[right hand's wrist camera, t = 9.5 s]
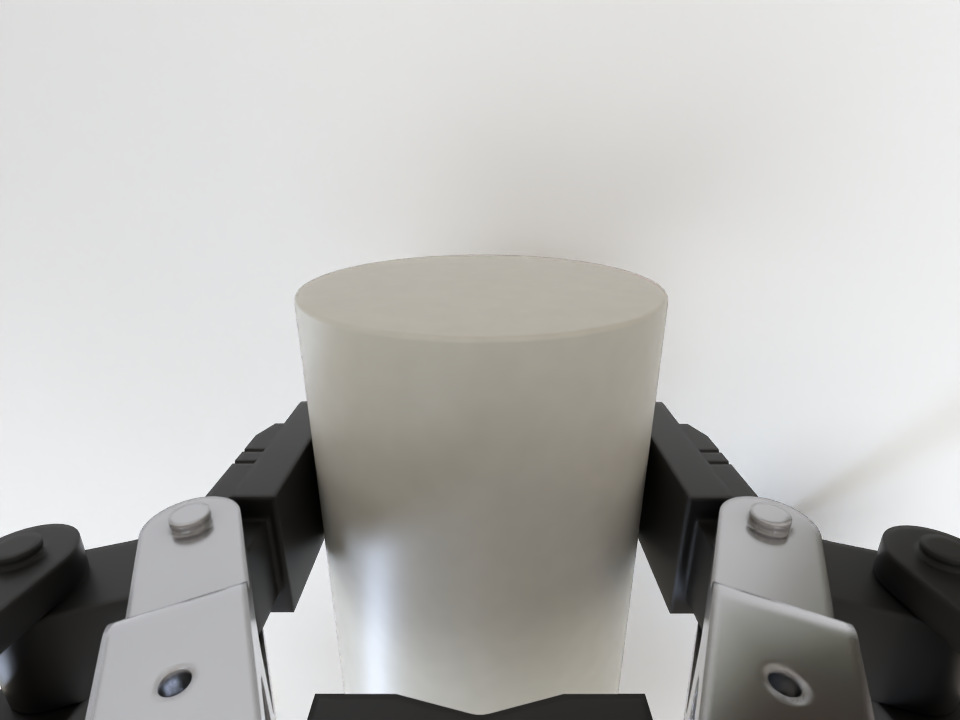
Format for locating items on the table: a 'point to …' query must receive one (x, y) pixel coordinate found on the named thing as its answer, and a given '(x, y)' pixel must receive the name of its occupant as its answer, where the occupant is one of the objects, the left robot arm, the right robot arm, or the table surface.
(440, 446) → the cylinder
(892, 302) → the table surface
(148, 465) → the table surface
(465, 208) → the table surface
